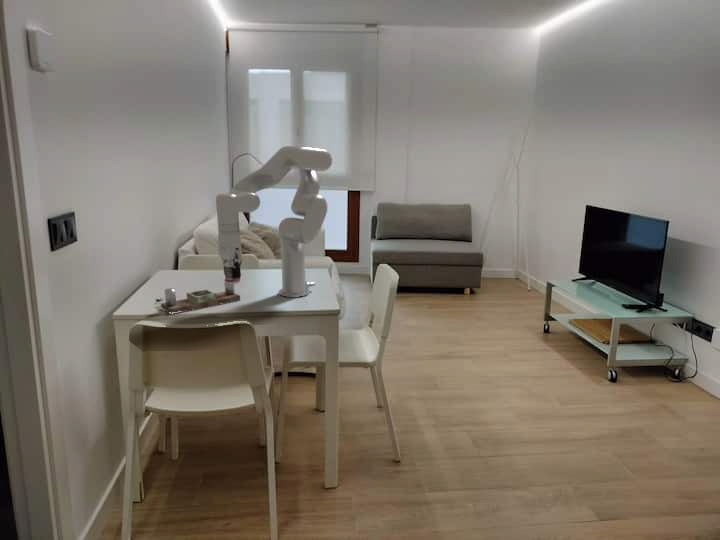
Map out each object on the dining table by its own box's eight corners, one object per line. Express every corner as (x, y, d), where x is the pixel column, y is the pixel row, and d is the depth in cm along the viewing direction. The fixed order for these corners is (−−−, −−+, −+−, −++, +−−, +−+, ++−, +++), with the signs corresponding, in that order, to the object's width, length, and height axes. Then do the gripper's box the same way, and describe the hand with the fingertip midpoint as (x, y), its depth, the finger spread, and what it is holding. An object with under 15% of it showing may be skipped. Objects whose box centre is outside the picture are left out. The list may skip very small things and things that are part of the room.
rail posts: (231, 292, 215) (231, 277, 214) (236, 294, 213) (235, 279, 211) (164, 305, 198) (163, 289, 196) (168, 307, 195) (167, 291, 194)
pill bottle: (236, 284, 195) (234, 258, 193) (223, 284, 196) (220, 258, 194) (242, 280, 200) (240, 255, 198) (229, 280, 201) (227, 254, 199)
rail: (229, 295, 218) (228, 284, 217) (240, 300, 211) (239, 289, 210) (161, 308, 200) (160, 297, 199) (171, 314, 193) (170, 302, 192)
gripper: (208, 226, 197) (212, 273, 202) (231, 232, 184) (234, 282, 189) (226, 223, 202) (230, 270, 206) (250, 229, 189) (253, 278, 194)
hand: (232, 275), depth 198 cm, fingers closed on pill bottle, 5 cm apart
